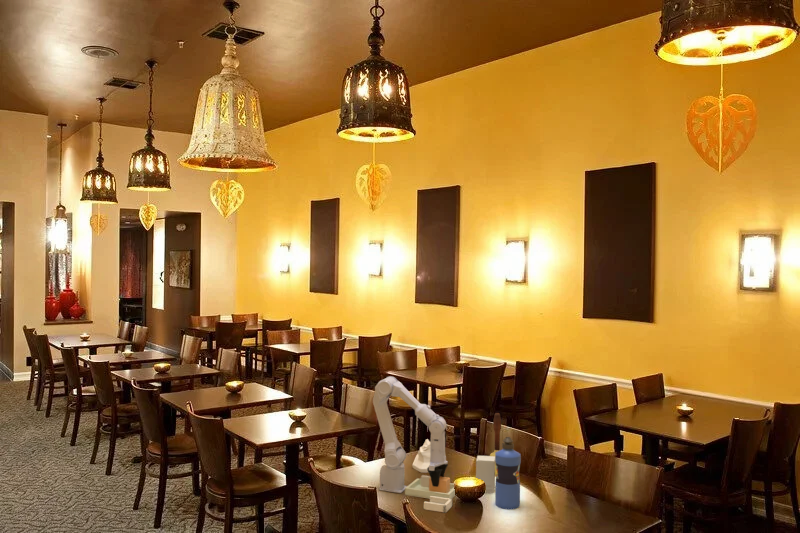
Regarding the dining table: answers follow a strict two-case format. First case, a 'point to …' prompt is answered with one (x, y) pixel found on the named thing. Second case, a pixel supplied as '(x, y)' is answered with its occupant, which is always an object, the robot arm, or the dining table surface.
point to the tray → (427, 491)
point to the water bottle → (507, 476)
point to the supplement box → (486, 471)
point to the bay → (438, 504)
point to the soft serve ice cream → (422, 458)
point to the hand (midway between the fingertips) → (437, 484)
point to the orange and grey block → (442, 487)
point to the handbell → (496, 435)
